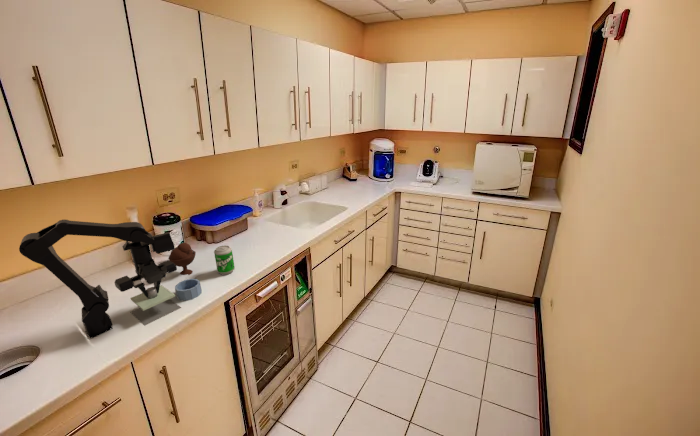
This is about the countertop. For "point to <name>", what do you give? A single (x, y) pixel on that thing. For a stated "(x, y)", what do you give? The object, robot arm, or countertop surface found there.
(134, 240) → the robot arm
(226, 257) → the soda can
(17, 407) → the countertop surface
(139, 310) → the rubber mat
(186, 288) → the bowl
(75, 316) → the countertop surface
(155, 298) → the cover
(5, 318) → the countertop surface
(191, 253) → the ice cream bowl
